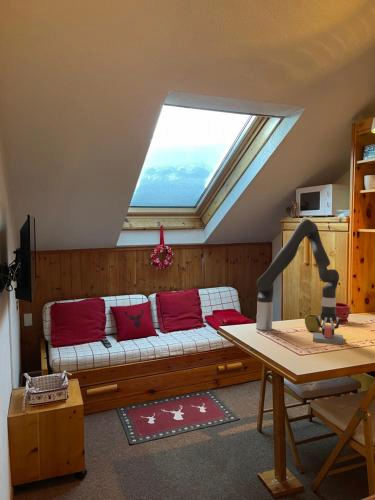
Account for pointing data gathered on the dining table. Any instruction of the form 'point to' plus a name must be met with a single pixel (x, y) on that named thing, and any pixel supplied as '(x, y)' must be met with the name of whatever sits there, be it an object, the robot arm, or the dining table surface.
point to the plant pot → (342, 312)
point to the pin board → (335, 338)
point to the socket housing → (328, 331)
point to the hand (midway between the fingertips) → (327, 335)
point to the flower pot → (312, 322)
